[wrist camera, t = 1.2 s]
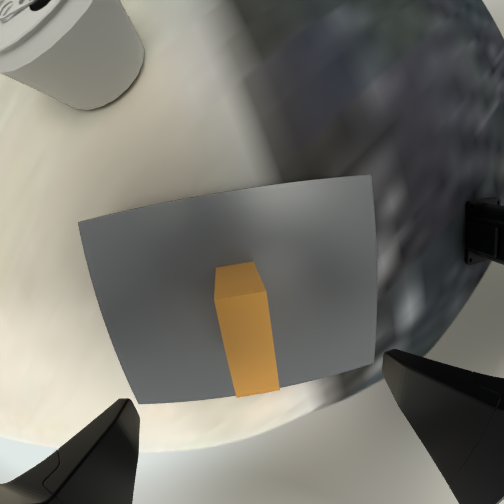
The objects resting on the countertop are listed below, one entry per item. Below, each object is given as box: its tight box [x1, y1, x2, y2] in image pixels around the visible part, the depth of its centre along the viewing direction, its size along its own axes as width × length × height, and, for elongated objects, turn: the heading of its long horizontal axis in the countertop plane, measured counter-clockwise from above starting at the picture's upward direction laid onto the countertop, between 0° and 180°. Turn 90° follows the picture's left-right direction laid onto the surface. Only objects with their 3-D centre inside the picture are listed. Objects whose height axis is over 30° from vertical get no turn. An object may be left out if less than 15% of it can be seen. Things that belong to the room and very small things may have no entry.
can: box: [0, 0, 144, 110], centre depth 11 cm, size 8×8×12 cm
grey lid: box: [78, 175, 377, 404], centre depth 14 cm, size 17×13×6 cm
